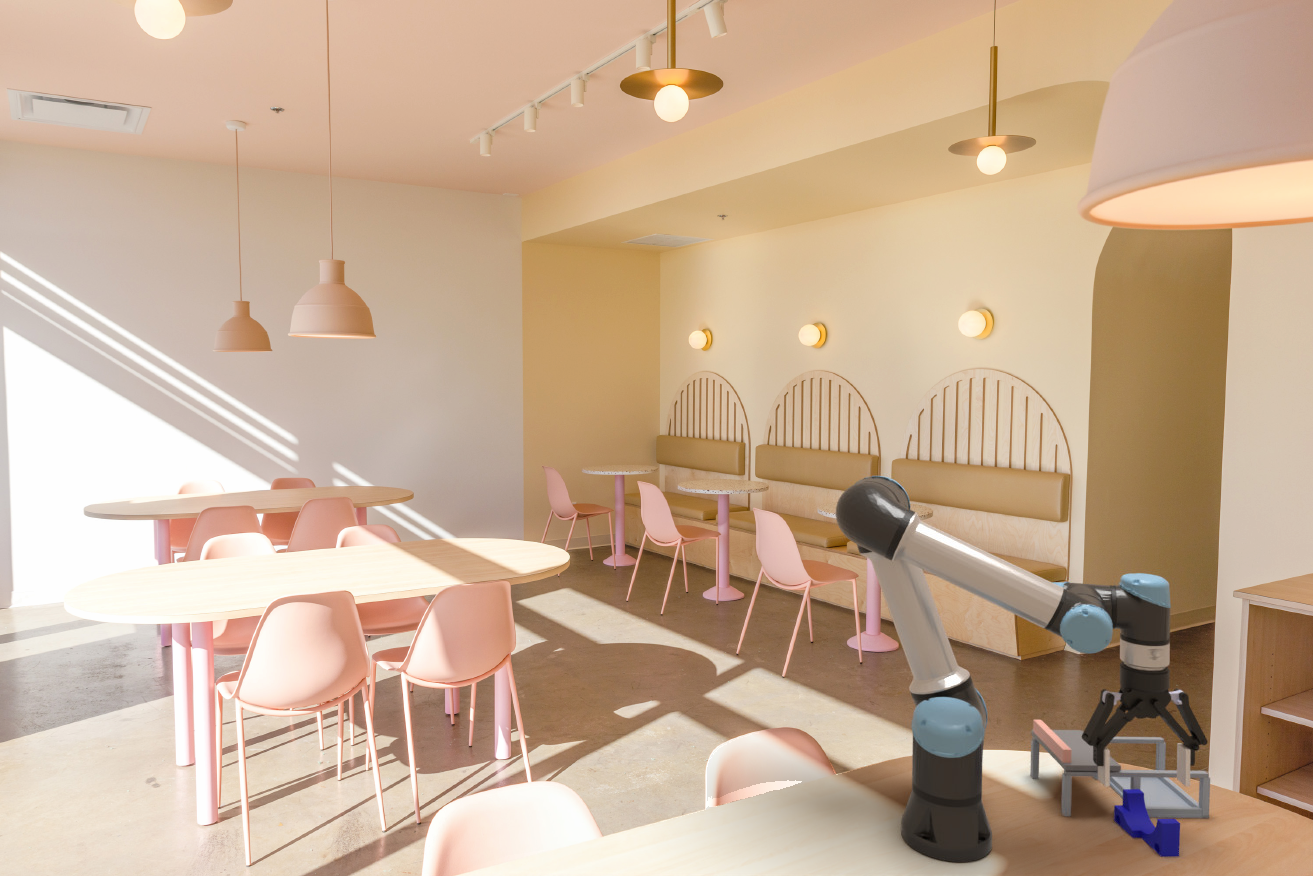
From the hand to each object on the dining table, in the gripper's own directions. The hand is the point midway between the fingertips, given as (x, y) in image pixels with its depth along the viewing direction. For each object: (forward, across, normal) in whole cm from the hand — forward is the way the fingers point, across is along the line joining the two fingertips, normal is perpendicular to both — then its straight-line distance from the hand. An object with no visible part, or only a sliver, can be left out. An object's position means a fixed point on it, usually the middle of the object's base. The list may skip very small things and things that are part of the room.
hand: (1143, 783), depth 149 cm
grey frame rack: (+10, +3, +15) cm, 18 cm away
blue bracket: (+10, 0, 0) cm, 10 cm away
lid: (+1, -5, +15) cm, 16 cm away
